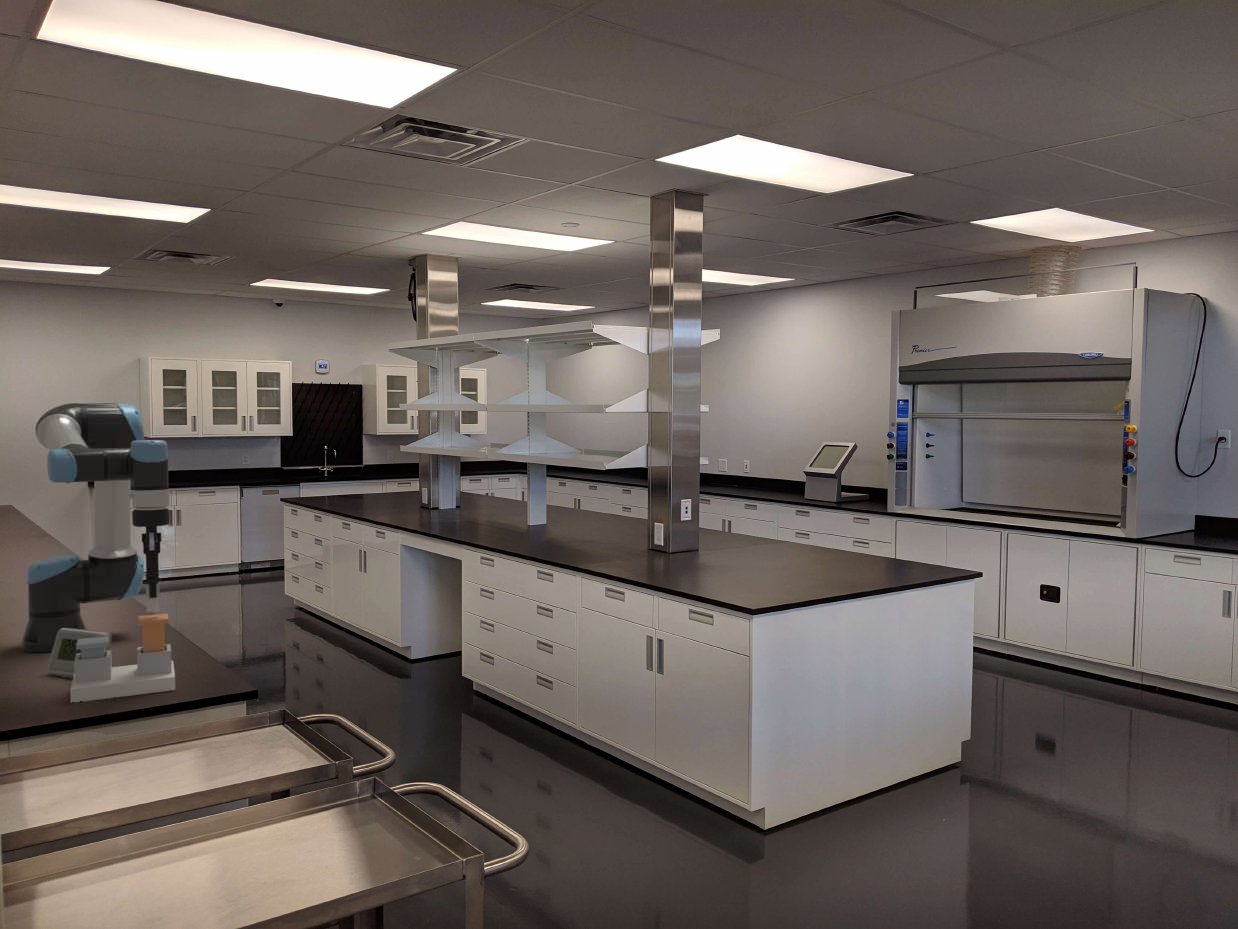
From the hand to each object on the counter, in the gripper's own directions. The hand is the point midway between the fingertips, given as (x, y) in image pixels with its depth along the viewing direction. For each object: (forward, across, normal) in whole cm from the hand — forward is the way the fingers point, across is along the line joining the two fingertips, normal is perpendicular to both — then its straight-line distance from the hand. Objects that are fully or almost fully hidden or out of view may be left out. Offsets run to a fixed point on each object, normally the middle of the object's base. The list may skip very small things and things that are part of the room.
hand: (153, 611), depth 204 cm
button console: (+17, 0, -6) cm, 18 cm away
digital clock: (+17, -15, -16) cm, 28 cm away
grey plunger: (+13, 0, -12) cm, 18 cm away
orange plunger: (+9, 0, 0) cm, 9 cm away
